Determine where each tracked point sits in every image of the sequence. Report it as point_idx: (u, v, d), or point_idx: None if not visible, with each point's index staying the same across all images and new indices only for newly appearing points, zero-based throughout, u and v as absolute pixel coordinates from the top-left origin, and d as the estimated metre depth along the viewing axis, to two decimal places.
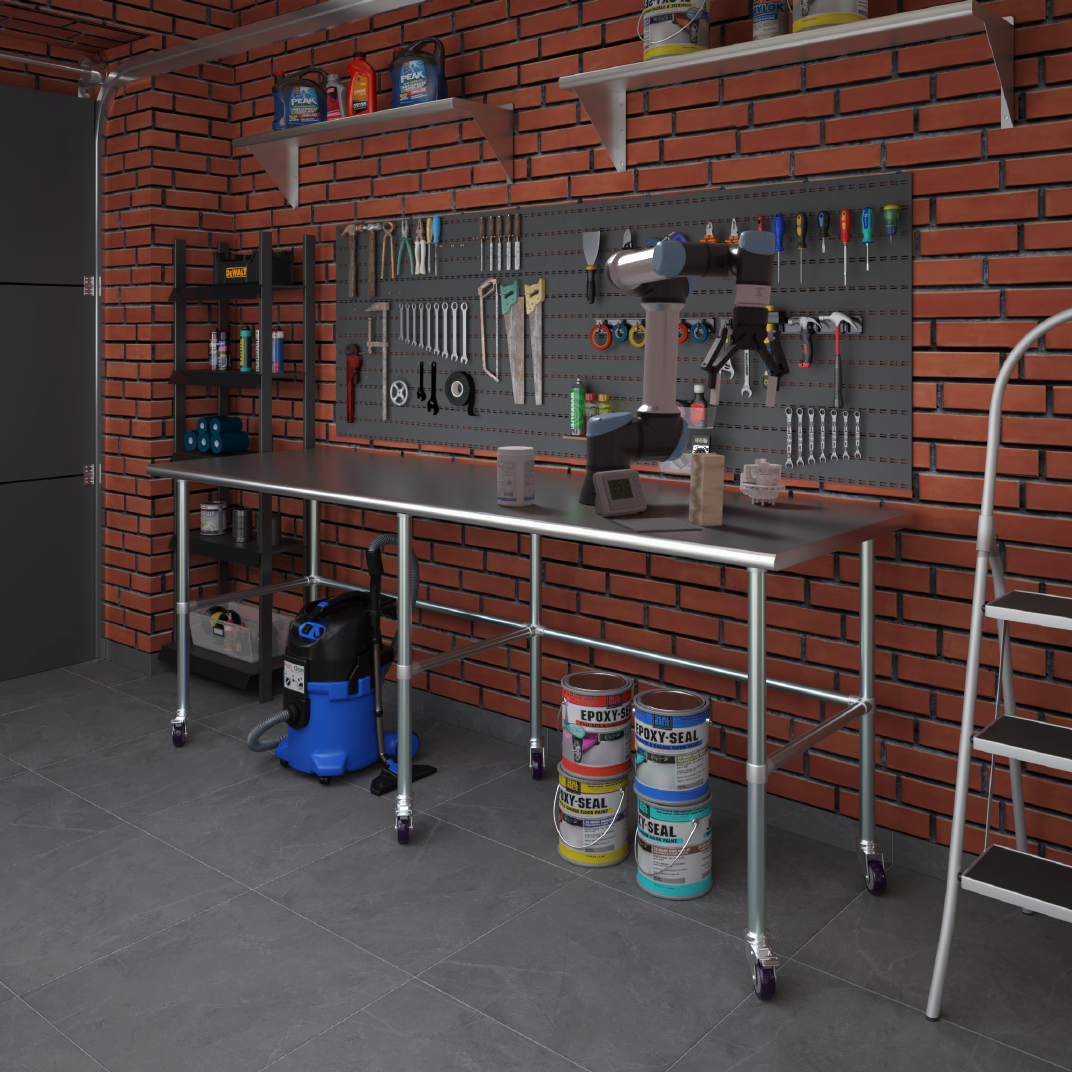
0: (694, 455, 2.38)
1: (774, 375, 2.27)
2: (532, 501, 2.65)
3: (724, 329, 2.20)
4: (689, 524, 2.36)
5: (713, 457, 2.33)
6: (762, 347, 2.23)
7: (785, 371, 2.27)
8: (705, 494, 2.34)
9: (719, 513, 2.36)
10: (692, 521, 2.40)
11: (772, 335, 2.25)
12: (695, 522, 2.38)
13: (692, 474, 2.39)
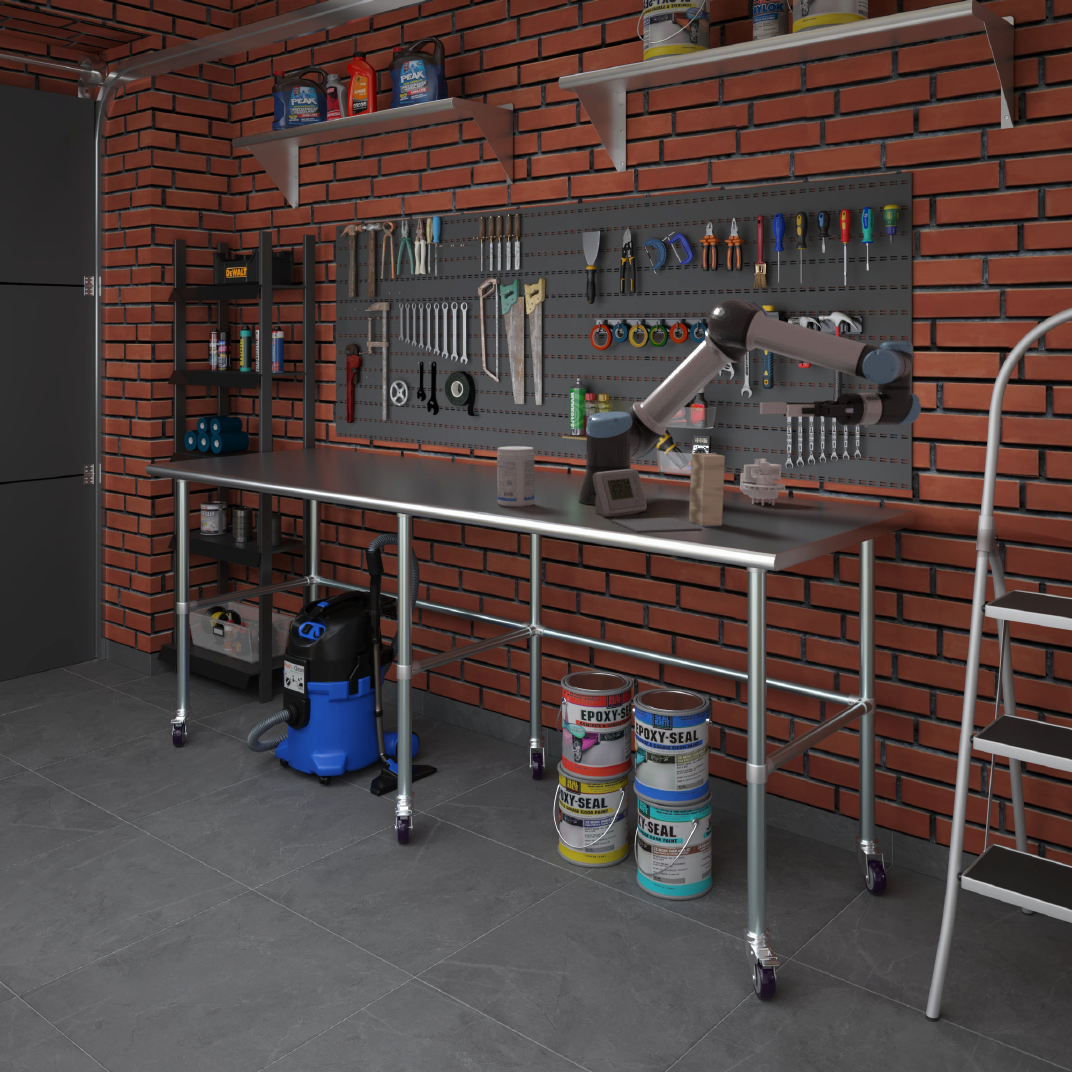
0: (694, 455, 2.38)
1: None
2: (532, 501, 2.65)
3: (851, 415, 2.37)
4: (689, 524, 2.36)
5: (713, 457, 2.33)
6: None
7: None
8: (705, 494, 2.34)
9: (719, 513, 2.36)
10: (692, 521, 2.40)
11: None
12: (695, 522, 2.38)
13: (692, 474, 2.39)
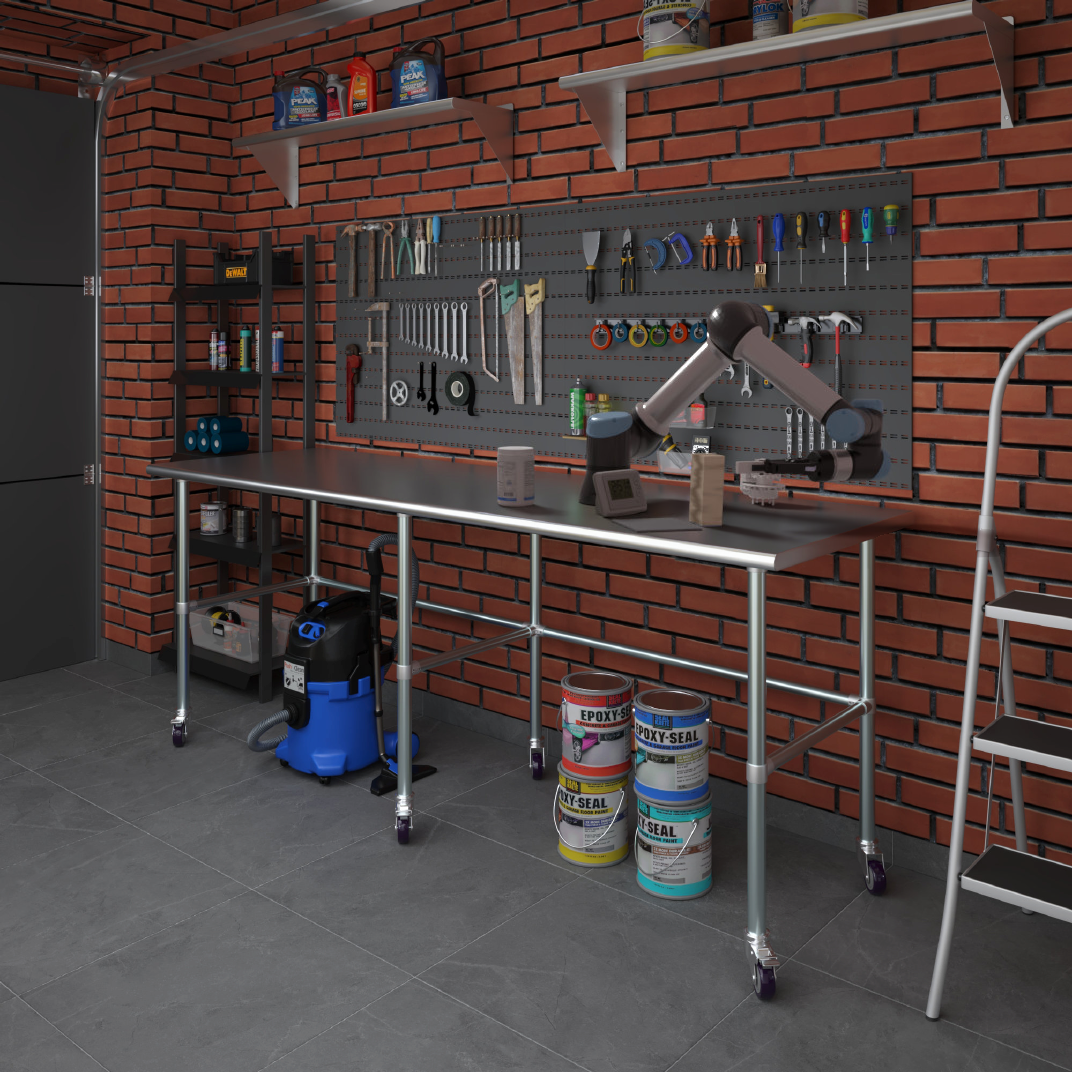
0: (694, 455, 2.38)
1: None
2: (532, 501, 2.65)
3: (812, 474, 2.38)
4: (689, 524, 2.36)
5: (713, 457, 2.33)
6: None
7: None
8: (705, 494, 2.34)
9: (719, 513, 2.36)
10: (692, 521, 2.40)
11: None
12: (695, 522, 2.38)
13: (692, 474, 2.39)
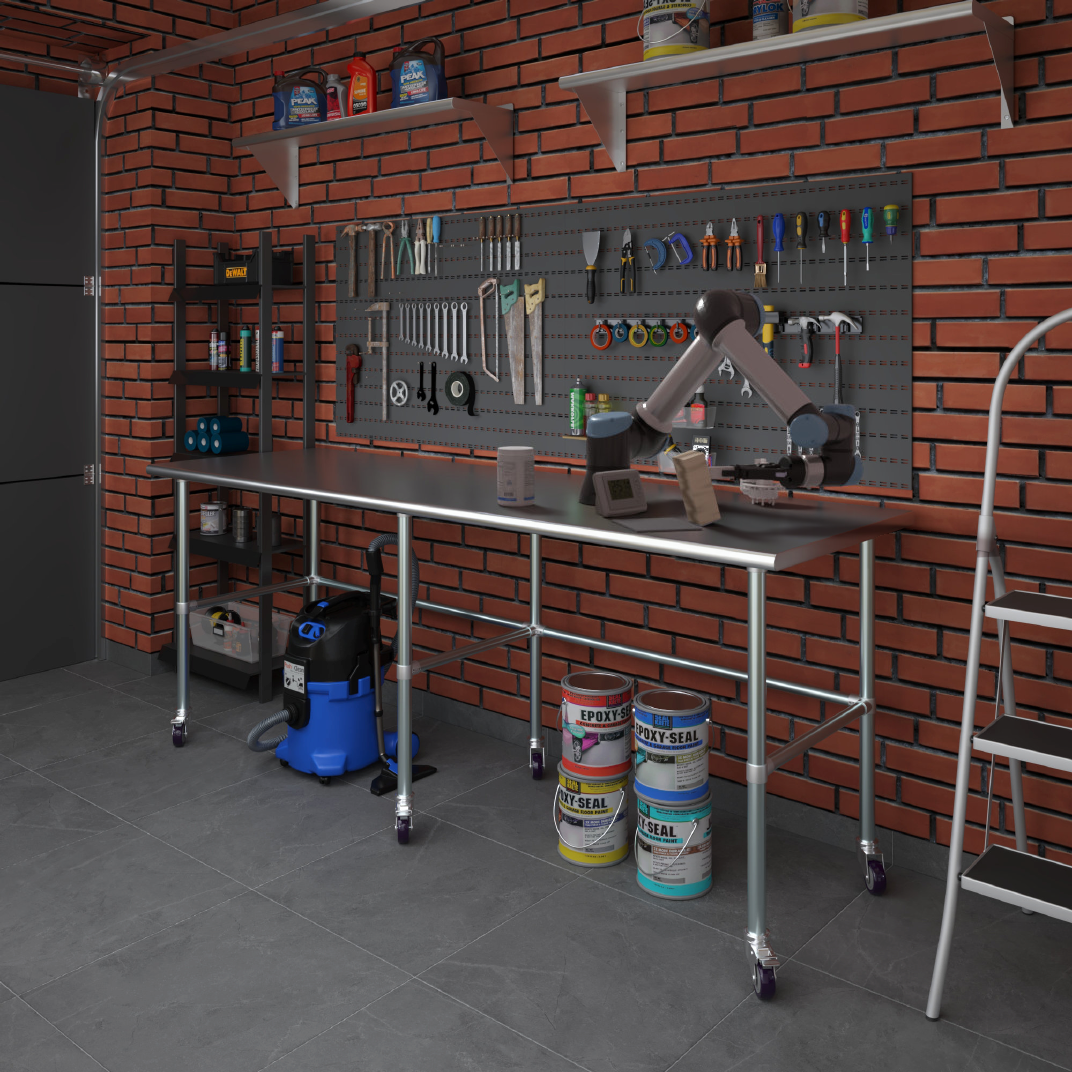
0: (675, 459, 2.37)
1: None
2: (532, 501, 2.65)
3: (782, 480, 2.36)
4: (689, 524, 2.36)
5: (693, 458, 2.32)
6: None
7: None
8: (696, 495, 2.34)
9: (715, 508, 2.35)
10: (691, 521, 2.40)
11: None
12: (694, 522, 2.38)
13: (678, 477, 2.38)
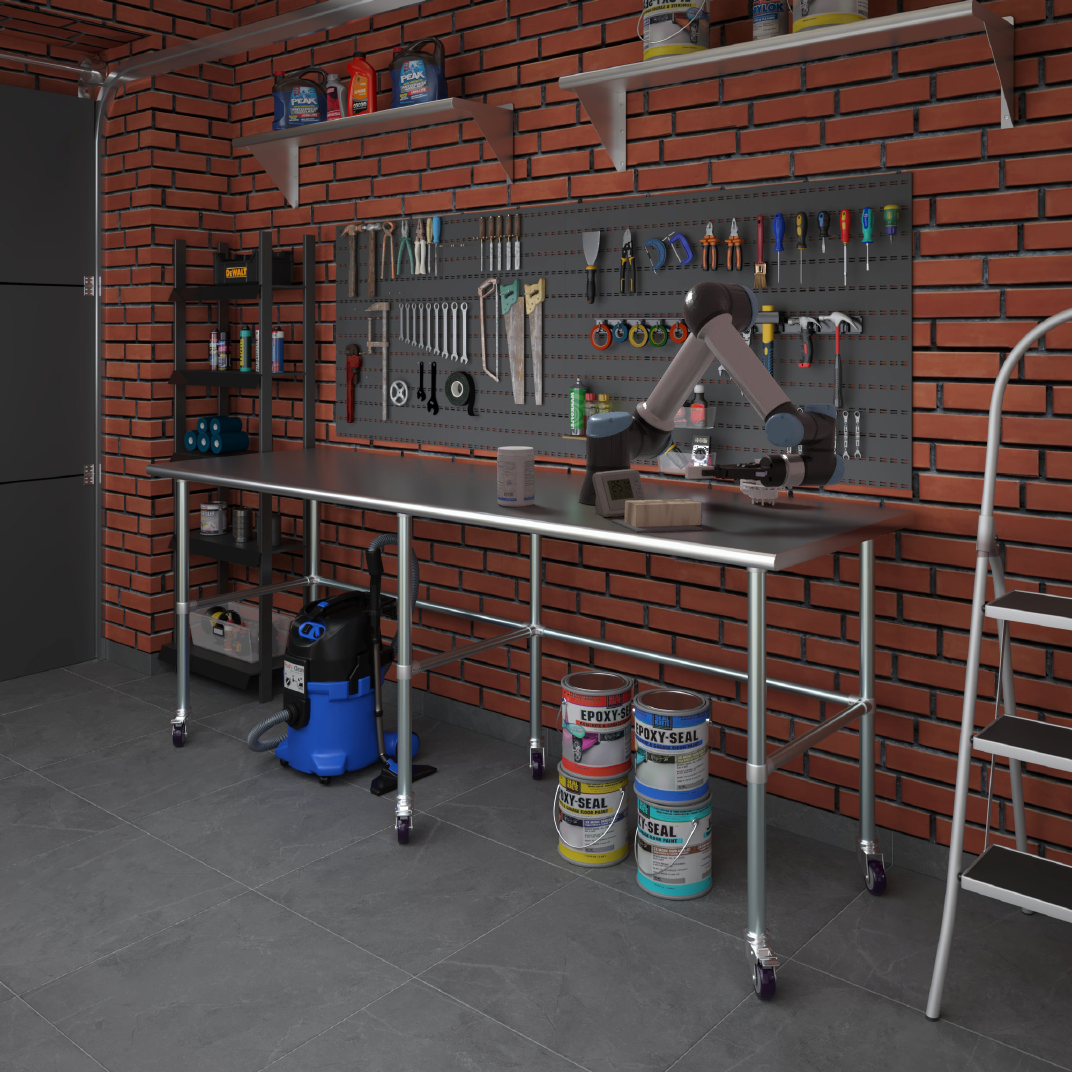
0: None
1: None
2: (532, 501, 2.65)
3: (762, 479, 2.35)
4: None
5: (637, 517, 2.31)
6: None
7: None
8: (672, 523, 2.33)
9: (690, 506, 2.34)
10: None
11: None
12: None
13: None
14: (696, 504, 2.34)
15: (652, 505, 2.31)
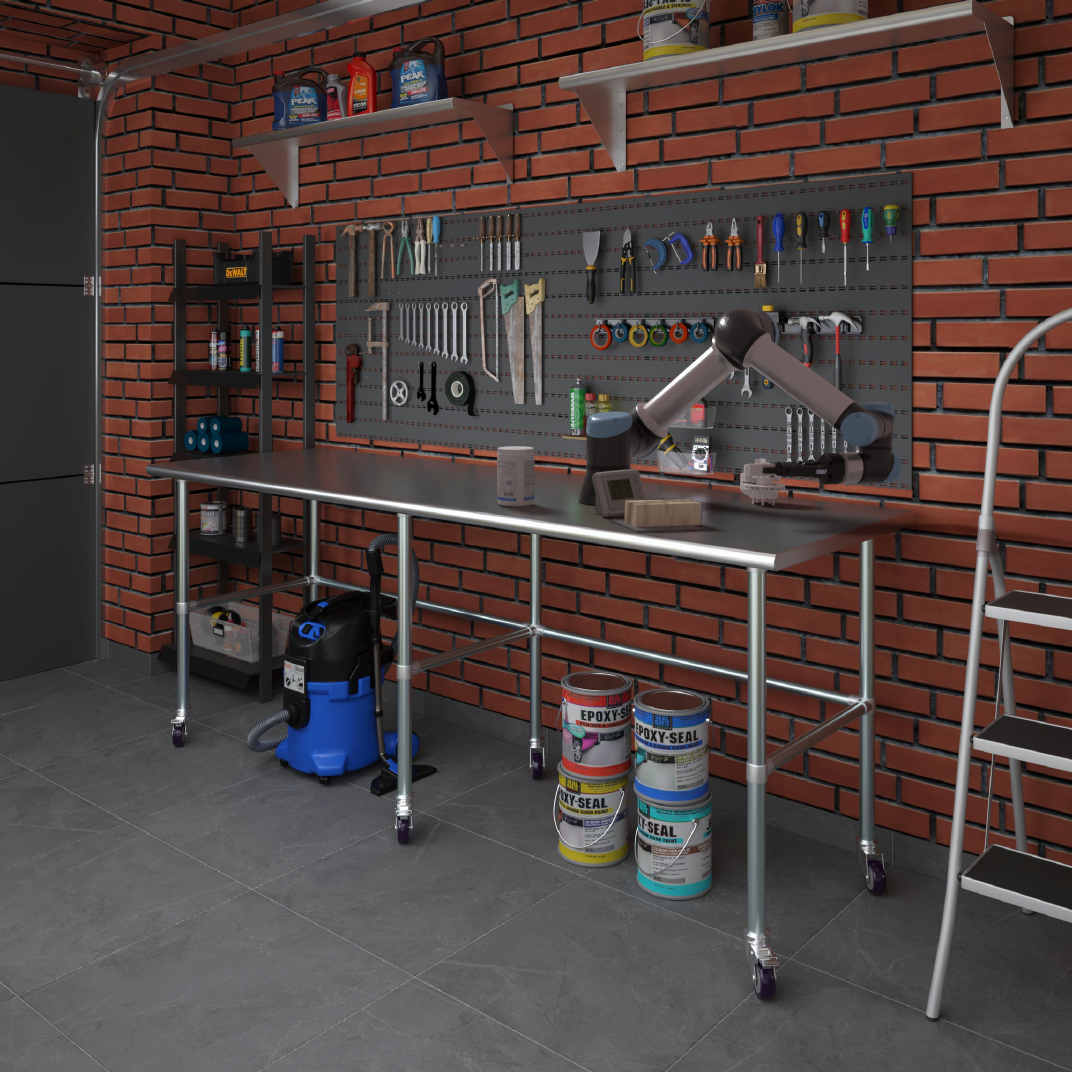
0: None
1: None
2: (532, 501, 2.65)
3: (823, 477, 2.39)
4: None
5: (637, 517, 2.31)
6: None
7: None
8: (672, 523, 2.33)
9: (690, 506, 2.34)
10: None
11: None
12: None
13: None
14: (696, 504, 2.34)
15: (652, 505, 2.31)
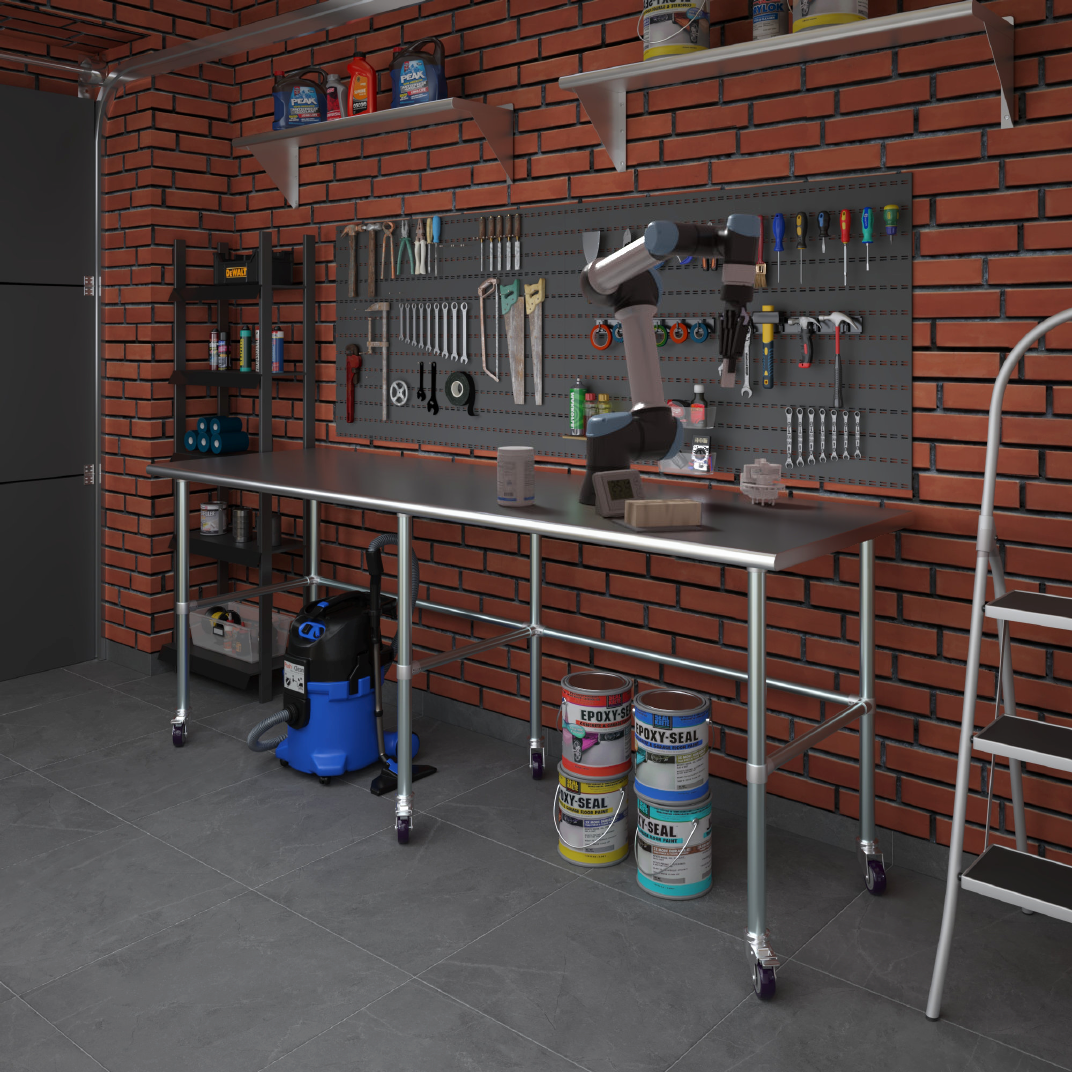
0: None
1: None
2: (532, 501, 2.65)
3: None
4: None
5: (637, 517, 2.31)
6: None
7: None
8: (672, 523, 2.33)
9: (690, 506, 2.34)
10: None
11: None
12: None
13: None
14: (696, 504, 2.34)
15: (652, 505, 2.31)
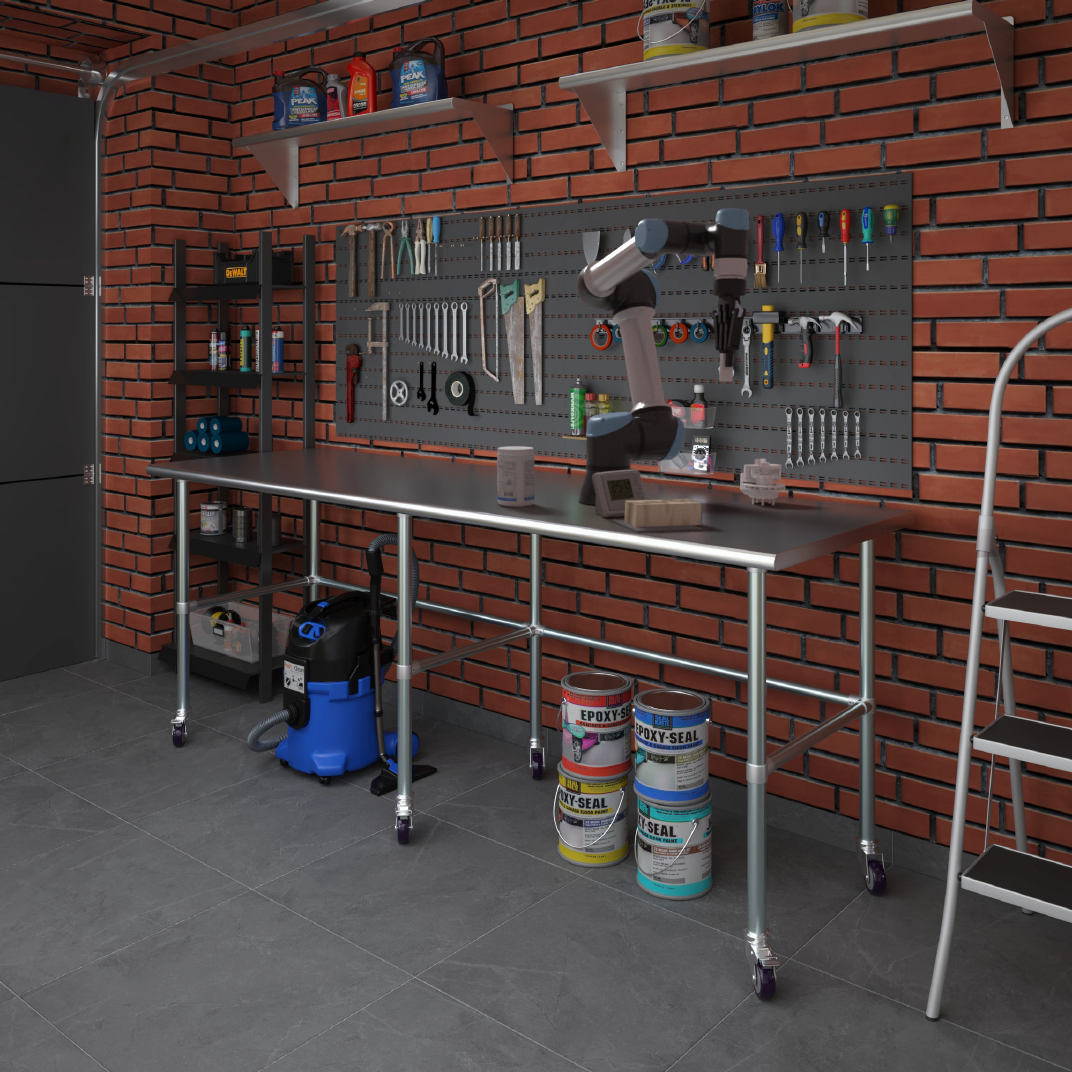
0: None
1: None
2: (532, 501, 2.65)
3: (745, 310, 2.36)
4: None
5: (637, 517, 2.31)
6: None
7: None
8: (672, 523, 2.33)
9: (690, 506, 2.34)
10: None
11: None
12: None
13: None
14: (696, 504, 2.34)
15: (652, 505, 2.31)
